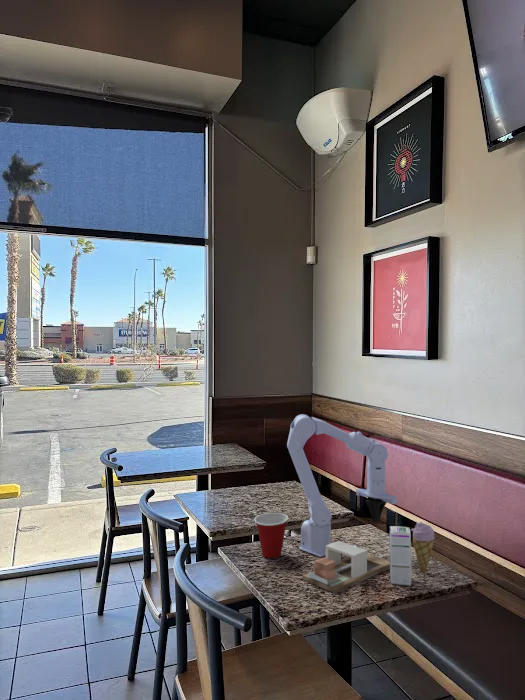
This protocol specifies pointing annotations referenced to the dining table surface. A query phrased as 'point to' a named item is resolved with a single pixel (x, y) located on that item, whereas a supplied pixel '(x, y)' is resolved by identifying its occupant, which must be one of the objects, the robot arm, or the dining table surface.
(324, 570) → the terracotta block
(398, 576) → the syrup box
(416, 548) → the ice cream cone
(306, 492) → the robot arm
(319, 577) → the sled
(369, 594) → the dining table surface
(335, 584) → the frame
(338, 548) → the tunnel
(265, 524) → the plastic cup
